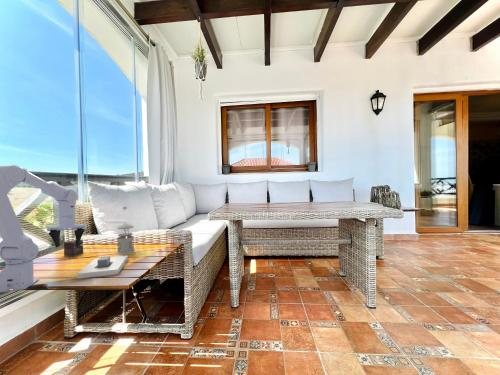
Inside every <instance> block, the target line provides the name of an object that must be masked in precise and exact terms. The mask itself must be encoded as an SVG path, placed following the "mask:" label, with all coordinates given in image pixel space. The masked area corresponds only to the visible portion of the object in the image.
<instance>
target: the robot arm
mask: <svg viewBox="0 0 500 375" xmlns="http://www.w3.org/2000/svg"><path fill="white" fill-rule="evenodd" d="M21 183H24V184H27V185H29V186H32V187H34V188H37V189H40V190H41V191H40V192H41V193H42V194H44V195H46V196H49V197H51V198H53V199H54V200H55V202H57V203H58V225H52V226H51V225H49V226H47V227H46V232H48V235H49V237H50V239H52V241H53V243H54V246H55V248H59V247H60V245H61V239H60V238H61V237H60V236H61V231H73V230H74V231H73V232H74V236H75V237H74V238H75V240H76V246H78V245H79V244H80V240H82V237H83V235H84V233H85V230H86V229H87V228H88V227H87V226H88V225H87V224H84V223H83V224H76V210H75V208H76V204H77V200H78V197H79V195H78V194H77V193H78V192H76V190H74V189H68V188H67V186H64V185H63V186H62V185H61V184H58V182H57V181H54V180H53V181H51V180H50V181H45V180H44V179H42V178H40V177H38V176H36V175H35V174H33V173H31V172H30V171H29V170H28V169H27V168H23V167H21V166H19V165H18V164H17V165H16V164H14V165H13V164H11V165H0V236H1V239H2V240H1V242H0V259H2V260H3V262H4V263H5V266H4V268H3V269H1V270H0V293H6V292H15V291H24V290H26V289H28V288H29V287H30V286H32V285H33V284H35V283H36V282H38V281H39V280H40V278H39V277H37V278H34V260H35V259H36V257H37V256H38V254H39V245H37V244H36V243H35V242H34V241H33V239H32V238H31V237H29V236H27V235H26V234H25V233H24V231H23V229H22V226H21V223H20V221H19V219H18V217H17V215H16V212H15V209H14V207H13V206H12V203H11V200H10V198H9V195H8V194H9V193H10V191H12V190H13V189H14V188H15V187H17V186H18V185H20V184H21ZM10 289H13V290H10Z"/></svg>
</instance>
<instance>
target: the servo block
mask: <svg viewBox="0 0 500 375" xmlns="http://www.w3.org/2000/svg"><path fill="white" fill-rule="evenodd" d="M110 257H111V256H101V257H99V258H100V259H99V260H97V262H98V268H104V267H109V266H110Z"/></svg>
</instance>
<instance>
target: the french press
mask: <svg viewBox="0 0 500 375" xmlns="http://www.w3.org/2000/svg"><path fill="white" fill-rule="evenodd" d="M122 209H123V210H127V209H128V208H127V206H123V207H122ZM133 228H134V226H133V225H132V224H128V223H124V224H121V225H118V226H117V227H116V229H117V230H124V233H123V232H122V233H120V234H118V235H117V236H118V237H117V238H116V240H117V242H116V243H117V251H116V252H115V255H119V256H126V255H130V254H133V253H132V252H134V251H135V250H136V249H135V247H134V244H135V243H134V236H133V233H132V232H129V229H133ZM135 252H136V251H135ZM135 252H134V253H135ZM129 253H130V254H129Z"/></svg>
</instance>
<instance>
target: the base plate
mask: <svg viewBox="0 0 500 375" xmlns="http://www.w3.org/2000/svg"><path fill="white" fill-rule="evenodd" d="M100 258H101V257H97V258H94V259H93V260H92V261H90V262H89V263H88V264H87V265H86V266H84V267H83V268H82V269H81V270H80V271H79V272H77V279H79V280H80V279H87V278H97V277H103V276H104V277H105V276H112V275H119V273H120V271H121V270H122V268H123V267H124V266H125V265H126V264H127V262H128V260H129V256H128V255H119V256H110V266H109V267H104V268H98V262H97V260H99V259H100Z"/></svg>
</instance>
